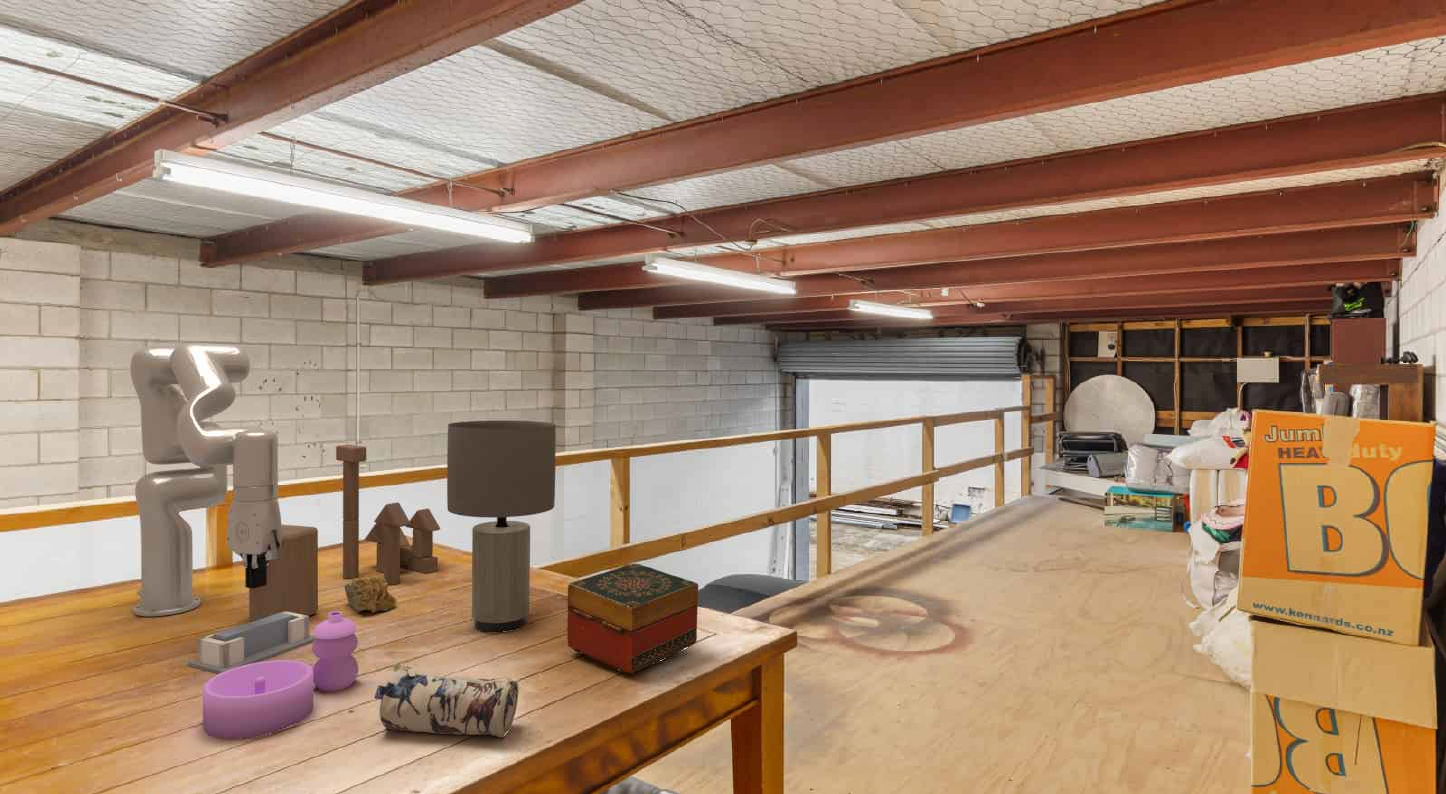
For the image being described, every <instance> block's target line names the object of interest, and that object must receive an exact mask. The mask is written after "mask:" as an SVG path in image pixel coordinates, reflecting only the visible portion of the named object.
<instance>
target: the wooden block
mask: <svg viewBox="0 0 1446 794" xmlns="http://www.w3.org/2000/svg"><path fill="white" fill-rule="evenodd" d="M281 525H282V544H281V548H280V549H279V550H277V553H278V558H276V559H272V560H270V561H269V565H268V566H267V584H266V585H265V586H262V587H258V588H254V589H251V588H248V619H249V621H250V622H254V621H257V620H260V619H263V618H266V617H269V616H272V615H275V614H278V613H282V612H285V611H287V612H291V613H296V614H301V615H306V616H309V617H310V616H313V615H314V614H316V613H317V612H318V610H319V536H318V535H319V530H318V527H315V526H307V525H306V526H305V525H293V524H291V525H290V524H281Z"/></svg>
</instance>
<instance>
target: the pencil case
mask: <svg viewBox="0 0 1446 794" xmlns="http://www.w3.org/2000/svg"><path fill="white" fill-rule="evenodd" d="M392 668H393V672H394V673H393V674H392V675H391V676H390V677H389V678H388V680H387V681H386V684H385V686H384V685H377V689H376V692H375V694H374V699H375V700H381V701H380V706H379V719H380V722H381V724H382V726H383V727H384V728H386V729H389V730H390V729H391V730H398V731H405V732H414V733H420V732H424V733H430V734H443V735H459V736H461V734H466V735H469V736H471V735H472V736H479V735H481V736H488V735H490V736H493V737H495V736H497V737H496V738H502V737H504V735H505V733H506V732H507V731H508V730H509V731H510V729H511V726H512V725H513V722H514V719H515V715H516V711H517V707H518V699H519V682H520V681H521V679H520V678H519V677H516V676H515V677H509V676H502V677H499V678H491V679H489V678H481V677H480V678H479V677H477V678H476V677H462V676H446V675H439V674H430V673H425V672H419V671H415V670H414V669H413V668H412V667H411V666H410V665H406V666H403V667H402V666H401V661H397V662H396V663H394V664H393V665H392ZM509 731H508V732H509ZM504 738H505V737H504Z"/></svg>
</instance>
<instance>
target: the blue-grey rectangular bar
mask: <svg viewBox="0 0 1446 794" xmlns="http://www.w3.org/2000/svg"><path fill="white" fill-rule="evenodd" d="M291 620H293V615H290V614H285V613H279V614H276V615H273V616H269V617H266V618H263V619H260V620H257V621H254V622H251V621H250V622H247V623H245V624H241V625H238V626H235V627H232V628H229V629H226V630H222V631H218V632H219V633H218V632H216V633H213V634H214V639H216V640H220V641H224V642H227V641H230V640H233V639H236V638H239V637H242V638H244V657H245V656H248V655H251V654H254V653H256V652H259V651H262V650H265V649H268V648H271V647H273V646H276V645H279V644H282V643H285V642H287V641H288V621H291Z"/></svg>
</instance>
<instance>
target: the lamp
mask: <svg viewBox="0 0 1446 794" xmlns="http://www.w3.org/2000/svg"><path fill="white" fill-rule="evenodd" d="M447 425H448V426H447V450H446V451H447V453H446V455H447V458H446V460H447V461H446V467H447V468H446V470H447V472H446V473H447V475H446V479H447V480H446V482H447V483H446V485H447V487H446V501H447V502H446V505H447V511H448V512H449V513H451V514H453V515H457V516H461V517H462V516H463V517H469V518H470V517H471V518H472V517H473V518H491V519H492V518H496V520H494V521H487V522H481V523H478V524H475V525H474V526H473V527H472V529H471V531H472V532H471V533H472V536H471V539H472V542H471V544H472V545H471V547H472V548H471V552H472V553H471V555H472V556H471V557H472V558H471V618H472V619H473V620H474V621H473V623H474V628H475V630H477V631H479V630H480V631H479V632H482V633H487V632H503V631H510V630H515V631H517V630H516V629H518V630H519V628H520V629H522V628H524V627H525V626H526V625H527V621H528V620H527V619H528V616H529V614H530V597H531V596H530V595H531V594H530V593H531V591H530V589H531V587H530V585H531V580H530V579H531V577H530V576H531V572H530V570H531V525H530V524H529V523H526V522H523V521H517V520H508V519H507V518H514V517H515V518H516V517H523V516H524V517H525V516H526V517H527V516H533V515H539V514H543V513H546V512H549V511H551V510H553V509H554V508H555V498H556V444H557V442H556V440H557V439H556V437H557V436H556V432H557V431H556V430H557V429H556V424H555V423H552V422H546V421H533V420H530V421H529V420H473V421H472V420H471V421H469V420H467V421H459V422H458V421H457V422H452V423H448V424H447ZM525 624H526V625H525ZM524 625H525V626H524ZM523 626H524V627H523ZM521 627H522V628H521ZM510 632H511V631H510Z"/></svg>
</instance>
